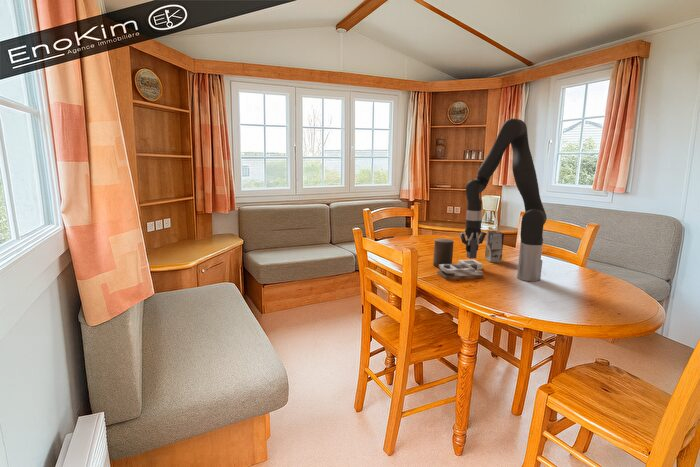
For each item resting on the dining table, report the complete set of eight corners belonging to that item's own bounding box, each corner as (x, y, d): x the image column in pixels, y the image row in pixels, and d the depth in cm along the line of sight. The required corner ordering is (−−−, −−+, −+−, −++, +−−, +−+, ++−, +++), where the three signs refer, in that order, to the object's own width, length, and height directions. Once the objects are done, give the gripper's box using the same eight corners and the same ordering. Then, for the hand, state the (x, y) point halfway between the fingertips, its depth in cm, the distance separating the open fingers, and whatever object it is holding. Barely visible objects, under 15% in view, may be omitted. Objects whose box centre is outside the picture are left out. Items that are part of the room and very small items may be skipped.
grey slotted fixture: (472, 271, 187) (473, 260, 185) (483, 277, 177) (484, 266, 176) (437, 273, 183) (437, 262, 182) (445, 279, 174) (446, 268, 173)
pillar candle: (447, 269, 190) (449, 240, 187) (429, 265, 196) (431, 237, 193) (454, 265, 197) (456, 237, 195) (437, 262, 203) (439, 235, 200)
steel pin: (472, 256, 196) (474, 237, 194) (476, 258, 192) (477, 239, 190) (466, 256, 195) (467, 238, 193) (469, 258, 192) (470, 239, 190)
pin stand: (473, 263, 200) (474, 259, 199) (482, 268, 191) (482, 264, 191) (457, 264, 198) (458, 260, 198) (465, 269, 190) (466, 264, 189)
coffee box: (501, 262, 203) (504, 233, 200) (490, 262, 203) (492, 233, 200) (495, 258, 212) (498, 230, 209) (484, 257, 212) (486, 230, 209)
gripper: (464, 220, 185) (462, 254, 188) (490, 219, 187) (488, 252, 190) (457, 218, 192) (455, 250, 195) (482, 217, 194) (480, 249, 198)
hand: (471, 251), depth 193 cm, fingers closed on steel pin, 3 cm apart
